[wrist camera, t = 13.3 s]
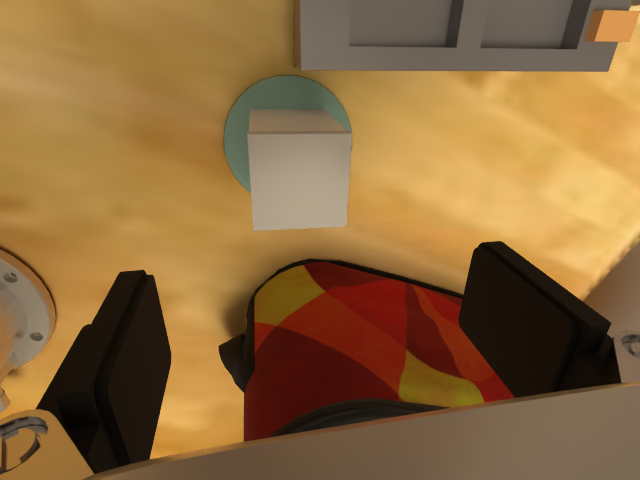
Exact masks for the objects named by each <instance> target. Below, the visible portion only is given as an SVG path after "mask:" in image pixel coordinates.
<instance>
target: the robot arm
mask: <svg viewBox="0 0 640 480" xmlns="http://www.w3.org/2000/svg"><path fill="white" fill-rule="evenodd" d="M55 320H56V316H55V308H54V304H53V301H52V299H51V296H50V294H49V292H48V291H47V289H46V288H45V286H44V285H43V283H42V281H41V280H40V279H39V278H38V277H37V276H36V275H35V274H34V273H33V272H32V271H31V270H30V269H29V268H28V267H27V266H25V265H24V264H23V263H21V262H20V261H19V260H17V259H16V258H15V257H13V256H11V255H10V254H8V253H6V252H4V251H2V250H1V249H0V385H1V384H2V381H3V380H4V379H5V377H6V376H7V375H8V373H9V372H10V371H11V370H13V369H15V368H18V367H21V366H22V365H24V364H26V363H27V362H29V361H31V360H32V359H33V358H34V357H36V356H37V355H38V354H39V353H40V352H41V351H42V349H43V348H44V347H45V345H46V344H47V342H48V341H49V339H50V337H51V335H52V333H53V331H54V327H55ZM458 320H459V325H460V328H461V329H462V331H463V332H464V333H465V335H466V336H467V337H468V338H469V340H470V341H471V342H472V344H473V345H474V346H475V347H476V349H477V350H478V351H479V353H480V354H481V355H482V356H483V358H484V359H485V360H486V362H487V363H488V364H489V365H490V367H491V368H492V369H493V370H494V372H495V373H496V374H497V376H498V377H499V378H500V379H501V381H502V382H503V383H504V385H505V386H506V387H507V388H508V390H509V391H510V392H511V394H512V395H513V396H514V397H515V398H512V399H506V400H499V401H493V402H486V403H480V404H473V405H467V406H461V407H454V408H448V409H442V410H435V411H429V412H423V413H416V414H410V415H404V416H398V417H391V418H385V419H379V420H373V421H366V422H360V423H354V424H348V425H342V426H336V427H330V428H324V429H318V430H312V431H306V432H300V433H294V434H288V435H281V436H275V437H269V438H263V439H257V440H251V441H245V442H240V443H234V444H229V445H223V446H218V447H212V448H207V449H201V450H196V451H190V452H185V453H179V454H174V455H169V456H164V457H159V458H155V459H150V460H149V458H150V454H151V450H152V445H153V441H154V436H155V432H156V427H157V423H158V419H159V414H160V410H161V405H162V401H163V396H164V392H165V388H166V383H167V379H168V374H169V370H170V365H171V350H170V345H169V341H168V336H167V332H166V328H165V323H164V319H163V314H162V310H161V305H160V301H159V296H158V292H157V287H156V283H155V279H154V276H153V275H147V274H146V272H145V271H144V270H137V271H125V272H120V273H119V274H118V276H117V278H116V280H115V282H114V283H113V285H112V287H111V289H110V291H109V293H108V294H107V296H106V298H105V300H104V302H103V304H102V305H101V307H100V309H99V311H98V313H97V315H96V316H95V318H94V320H93V322H92V324H88V325H86V326H84V327H83V328H82V329H81V331H80V333H79V334H78V336H77V338H76V340H75V341H74V343H73V345H72V346H71V348H70V350H69V352H68V353H67V355H66V357H65V359H64V360H63V362H62V364H61V366H60V367H59V369H58V371H57V373H56V374H55V376H54V378H53V380H52V381H51V383H50V385H49V387H48V388H47V390H46V392H45V394H44V395H43V397H42V399H41V401H40V402H39V404H38V406H37V408H36V409H35V410H25V411H22V412H18V413H14V414H11V415H9V416H7V417H5V418H3V419H1V420H0V480H640V332H638V331H629V330H625V331H620V332H618V333H616V334H615V335H614V337H613V339H612V338H611V337H610V336H609V335H607V332H608V330H609V327H610V325H611V323H610V322H609V321H608V320H607V319H605V318H604V317H603V316H601V315H600V314H598V313H597V312H596V311H594V310H593V309H592V308H590V307H589V306H588V305H586V304H585V303H584V302H582V301H581V300H580V299H578V298H577V297H576V296H574V295H573V294H572V293H570V292H569V291H568V290H566V289H565V288H564V287H562V286H561V285H560V284H558V283H557V282H556V281H554V280H553V279H551V278H550V277H549V276H547V275H546V274H545V273H543V272H542V271H541V270H539V269H538V268H537V267H535V266H534V265H533V264H531V263H530V262H529V261H527V260H526V259H525V258H523V257H522V256H521V255H519V254H518V253H517V252H515V251H514V250H513V249H511V248H510V247H508V246H507V245H506V244H504V243H503V242H501V241H496V242H483V243H481V244H480V245H479V246H478V248H475V249H474V251H473V255H472V259H471V264H470V268H469V273H468V277H467V282H466V286H465V291H464V295H463V299H462V304H461V308H460V313H459V318H458ZM9 405H10V400H9V399H8V397H7V395H6V393H5V391H4V390H3V389H2V388H1V386H0V412H2V411H4V410H5V409H6V408H7V407H8V406H9Z"/></svg>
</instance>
